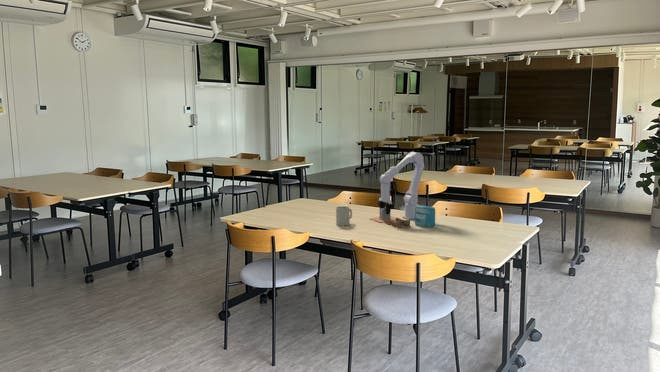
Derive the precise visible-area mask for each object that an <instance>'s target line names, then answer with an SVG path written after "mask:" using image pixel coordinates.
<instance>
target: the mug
mask: <svg viewBox="0 0 660 372" xmlns="http://www.w3.org/2000/svg"><path fill="white" fill-rule="evenodd" d="M335 215H336V216H335V219H336V221H335V223H336V226H338V225H341V226H340V227H343V226H342V225H347V226H349V225H350V221H351V219H352V217H353V210H352V209H351V208H350V207H349V206H347V205H346V206H342V205H341V206H337V207H336V209H335Z"/></svg>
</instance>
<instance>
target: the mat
mask: <svg viewBox="0 0 660 372" xmlns="http://www.w3.org/2000/svg"><path fill="white" fill-rule="evenodd" d="M396 218H397V217H394V216H392V215H390V219H388V220H390V221H393V222H396ZM369 219H370V221H371V220H372V221H374V222H376V223H379V224H382V223H384V220H381V219H380V216H378V217H370V218H369Z"/></svg>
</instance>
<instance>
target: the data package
mask: <svg viewBox="0 0 660 372" xmlns="http://www.w3.org/2000/svg"><path fill="white" fill-rule="evenodd" d="M414 224H415V226H418V225H421V226H420V227H424V226H427V227H426V228H432V227H435V225H436V208H435V207H433V206H425V205H419V206H417V207H415V219H414Z"/></svg>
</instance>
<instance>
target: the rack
mask: <svg viewBox="0 0 660 372" xmlns="http://www.w3.org/2000/svg"><path fill="white" fill-rule="evenodd" d="M395 218H396V221H390V220H388V219H384V222H383V223H384V224H385V225H388V224H389V225H388V226H391V225H392V226H391V227H393V226H394V228H396V227H400V228H403V227H402V226H409V227H411V219H402V218H400V217H395Z"/></svg>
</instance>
